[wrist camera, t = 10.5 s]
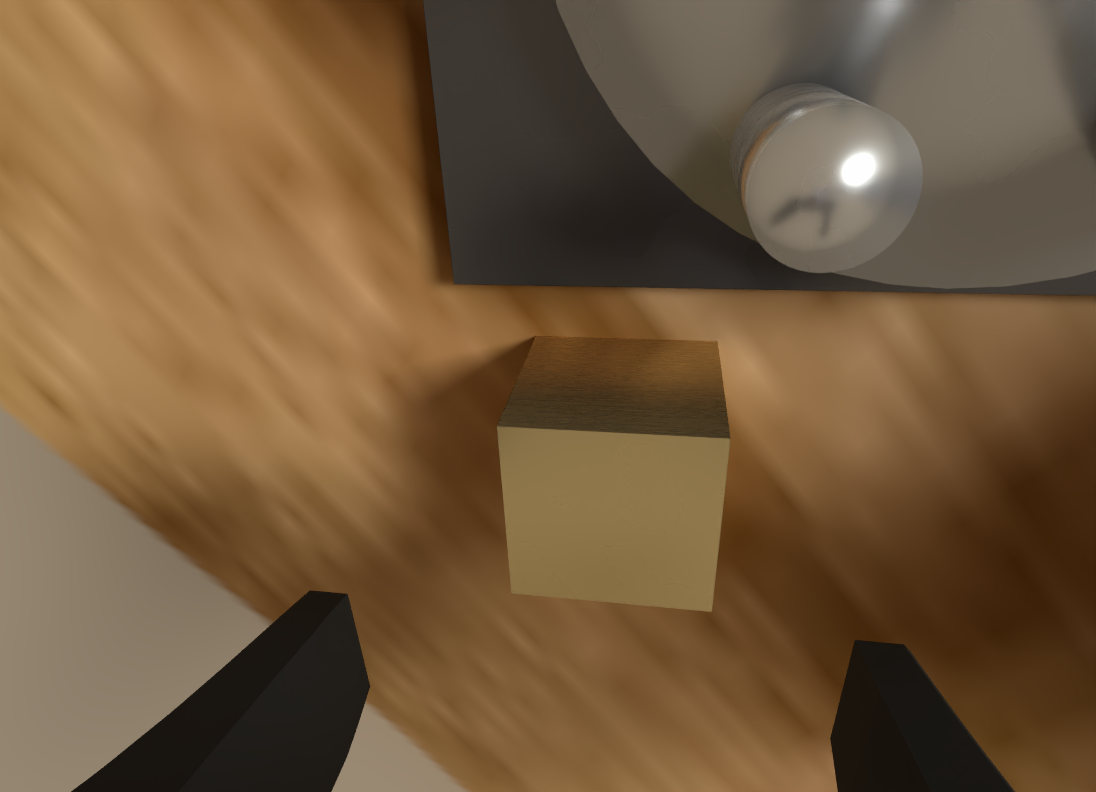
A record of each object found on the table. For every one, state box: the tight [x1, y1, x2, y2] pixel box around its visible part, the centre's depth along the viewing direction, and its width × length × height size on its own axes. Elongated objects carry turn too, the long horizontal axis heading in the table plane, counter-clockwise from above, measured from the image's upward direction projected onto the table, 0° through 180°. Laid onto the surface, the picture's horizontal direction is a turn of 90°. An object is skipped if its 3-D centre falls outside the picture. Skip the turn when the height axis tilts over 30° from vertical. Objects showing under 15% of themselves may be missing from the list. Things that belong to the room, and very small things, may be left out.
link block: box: [497, 336, 730, 612], centre depth 14 cm, size 4×4×4 cm
